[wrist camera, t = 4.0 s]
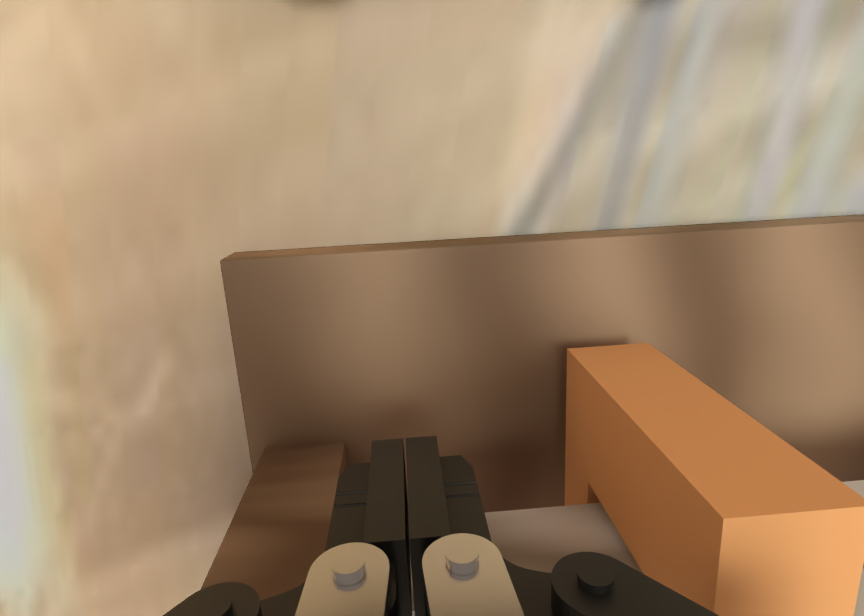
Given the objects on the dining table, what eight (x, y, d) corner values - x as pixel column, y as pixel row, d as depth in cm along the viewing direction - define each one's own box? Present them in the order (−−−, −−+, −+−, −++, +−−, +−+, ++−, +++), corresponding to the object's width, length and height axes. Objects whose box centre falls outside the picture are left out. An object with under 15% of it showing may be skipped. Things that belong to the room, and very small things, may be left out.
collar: (562, 627, 18) (678, 947, 11) (566, 348, 16) (723, 519, 8) (631, 620, 19) (793, 932, 11) (647, 342, 16) (874, 505, 8)
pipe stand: (295, 658, 21) (211, 1071, 12) (234, 252, 17) (25, 371, 7) (973, 591, 23) (1402, 910, 13) (1073, 201, 18) (1818, 246, 9)
